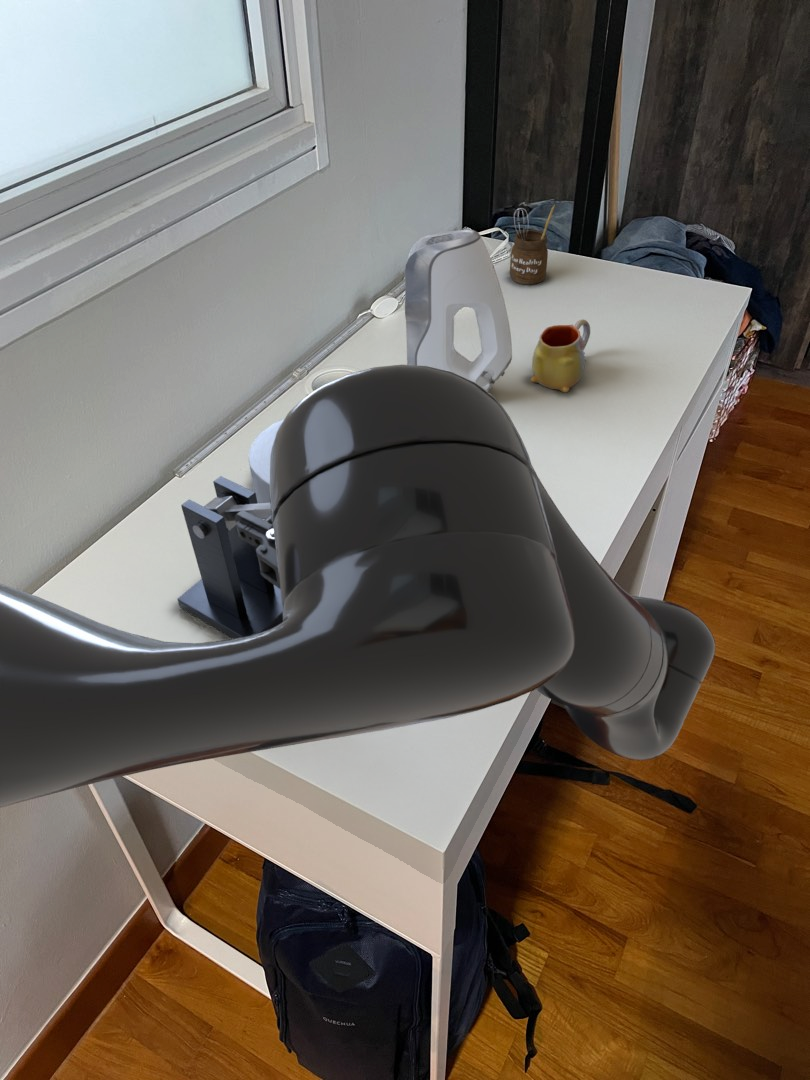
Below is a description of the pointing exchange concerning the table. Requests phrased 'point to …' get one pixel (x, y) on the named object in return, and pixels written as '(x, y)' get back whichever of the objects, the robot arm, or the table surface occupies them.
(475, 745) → the table surface
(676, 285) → the table surface
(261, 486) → the tape roll
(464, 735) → the table surface
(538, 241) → the utensil holder
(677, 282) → the table surface
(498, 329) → the jug
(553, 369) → the mug
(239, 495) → the switch bracket
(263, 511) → the switch lever
